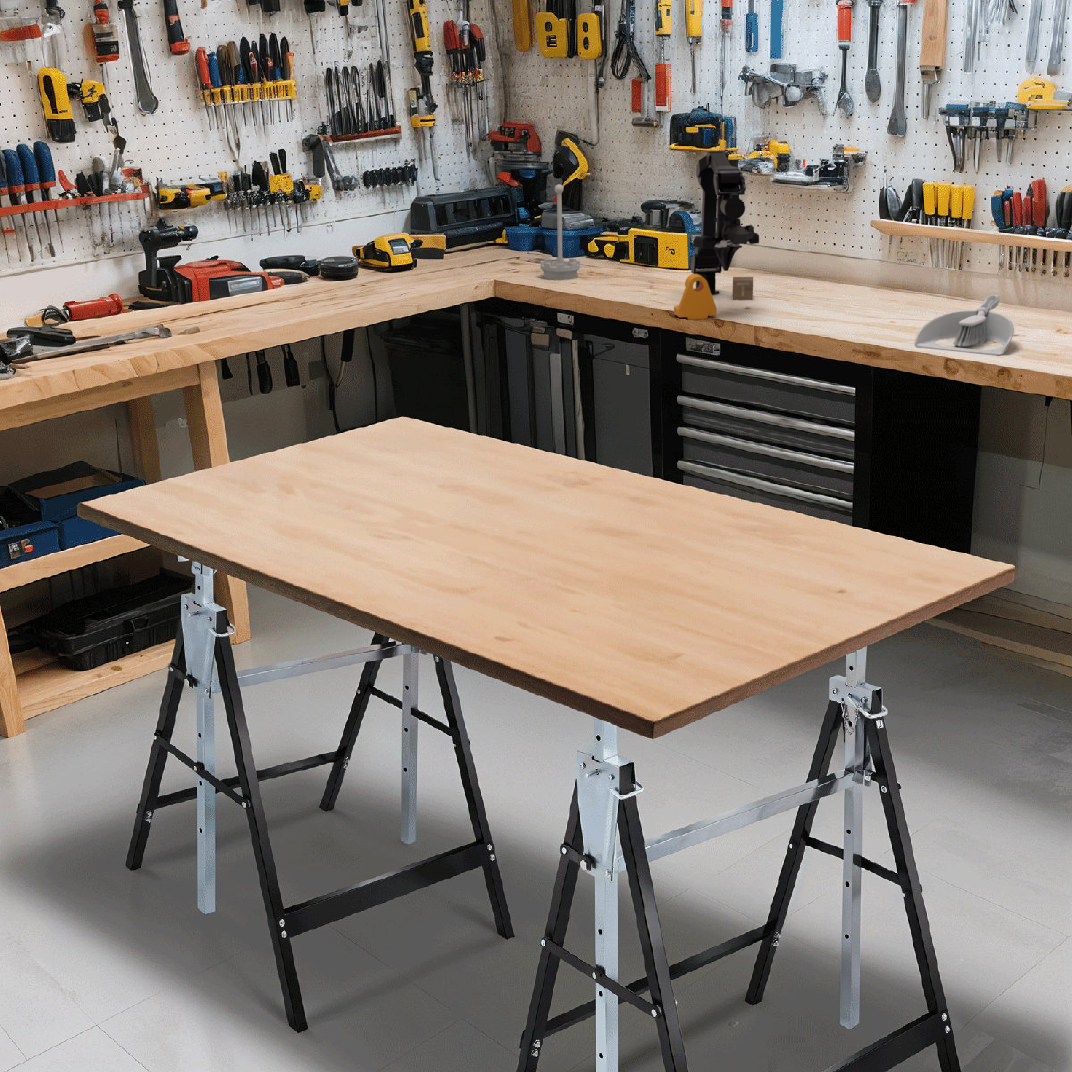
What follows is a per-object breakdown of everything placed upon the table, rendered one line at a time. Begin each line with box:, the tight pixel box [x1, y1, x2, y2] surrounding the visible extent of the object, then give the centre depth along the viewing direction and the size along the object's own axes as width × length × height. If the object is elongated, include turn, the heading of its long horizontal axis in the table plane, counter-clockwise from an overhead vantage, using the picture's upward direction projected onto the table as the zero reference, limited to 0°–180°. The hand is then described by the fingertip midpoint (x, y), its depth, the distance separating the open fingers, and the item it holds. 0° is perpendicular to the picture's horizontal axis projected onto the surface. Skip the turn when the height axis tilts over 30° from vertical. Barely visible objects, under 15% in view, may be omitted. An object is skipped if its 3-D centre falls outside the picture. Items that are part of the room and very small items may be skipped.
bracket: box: [673, 273, 718, 321], centre depth 385 cm, size 11×7×12 cm, turn 98°
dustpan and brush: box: [914, 294, 1015, 357], centre depth 351 cm, size 23×33×10 cm
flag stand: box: [540, 183, 581, 281], centre depth 447 cm, size 13×13×30 cm
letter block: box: [731, 276, 754, 301], centre depth 410 cm, size 6×6×6 cm
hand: (725, 270), depth 387 cm, fingers closed
